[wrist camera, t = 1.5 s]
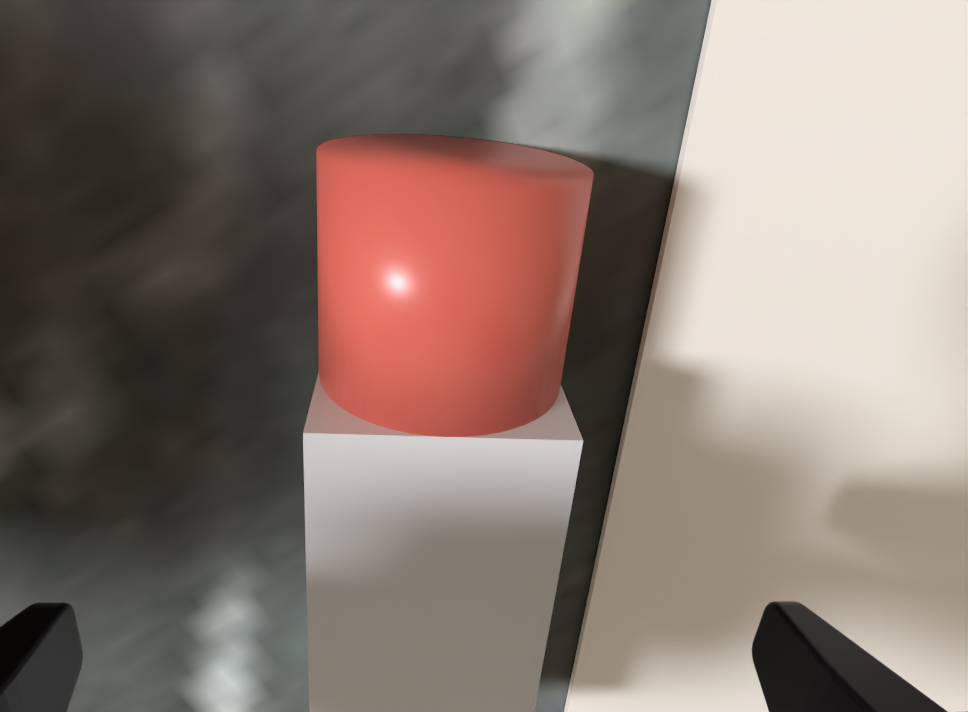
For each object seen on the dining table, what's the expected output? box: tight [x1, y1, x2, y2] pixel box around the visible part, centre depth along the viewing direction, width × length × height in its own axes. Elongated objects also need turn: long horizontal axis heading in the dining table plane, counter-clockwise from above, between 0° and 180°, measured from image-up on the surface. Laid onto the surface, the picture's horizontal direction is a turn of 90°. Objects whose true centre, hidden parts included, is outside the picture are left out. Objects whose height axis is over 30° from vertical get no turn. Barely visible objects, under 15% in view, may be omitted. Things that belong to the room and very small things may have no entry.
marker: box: [303, 134, 594, 712], centre depth 11 cm, size 11×3×3 cm, turn 175°
